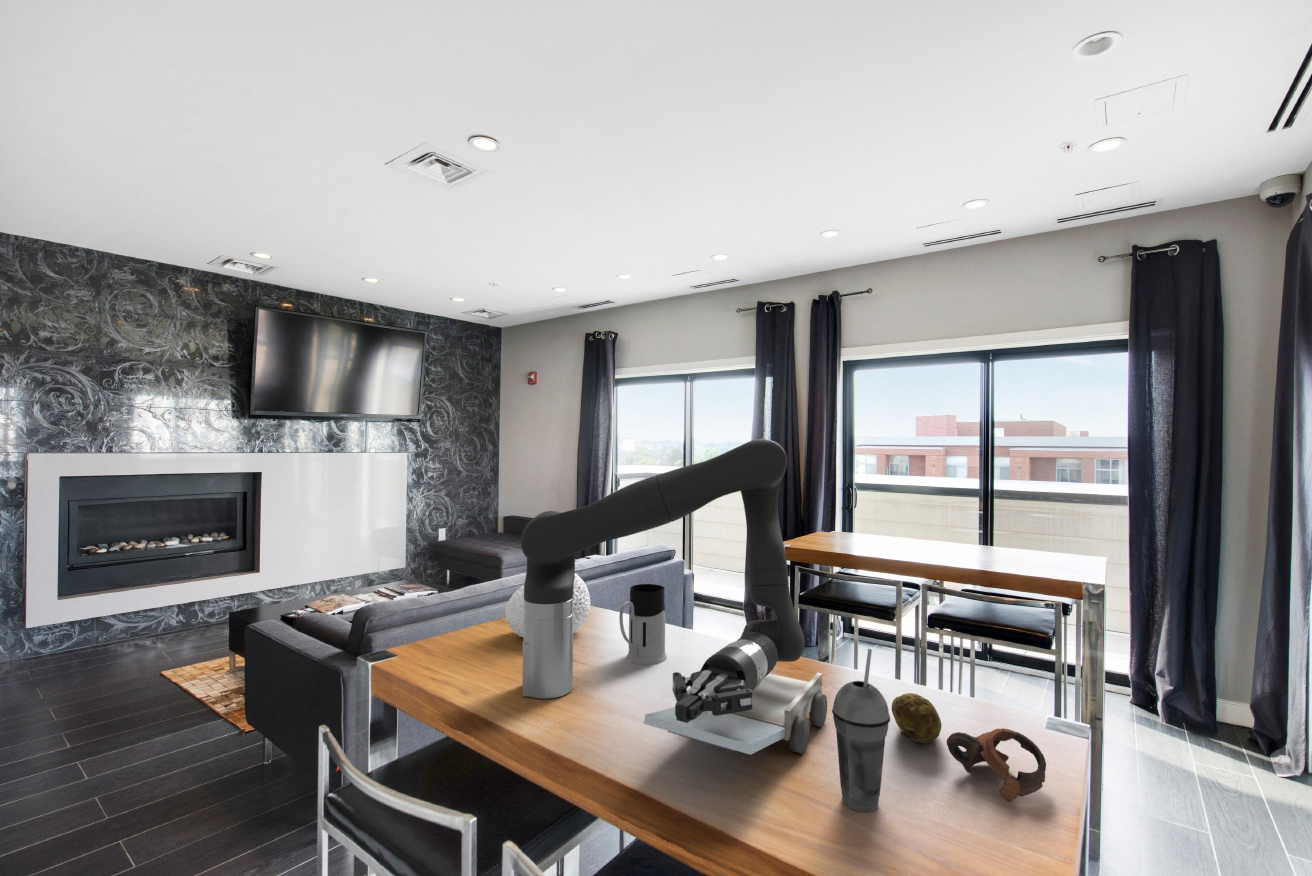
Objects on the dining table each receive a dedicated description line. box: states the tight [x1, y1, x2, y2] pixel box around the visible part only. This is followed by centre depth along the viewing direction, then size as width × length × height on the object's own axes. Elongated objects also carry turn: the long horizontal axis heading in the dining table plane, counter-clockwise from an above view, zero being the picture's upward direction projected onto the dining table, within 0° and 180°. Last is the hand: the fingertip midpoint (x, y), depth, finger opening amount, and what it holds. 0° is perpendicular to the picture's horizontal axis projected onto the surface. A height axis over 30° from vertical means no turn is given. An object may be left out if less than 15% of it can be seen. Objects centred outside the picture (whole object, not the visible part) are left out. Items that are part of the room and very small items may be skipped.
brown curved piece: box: [946, 727, 1047, 802], centre depth 85 cm, size 12×10×8 cm
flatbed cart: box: [721, 672, 828, 755], centre depth 102 cm, size 18×19×7 cm
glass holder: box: [618, 583, 668, 666], centre depth 130 cm, size 9×14×15 cm, turn 148°
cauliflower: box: [504, 573, 592, 639], centre depth 146 cm, size 20×18×16 cm
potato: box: [891, 692, 942, 744], centre depth 97 cm, size 8×13×8 cm, turn 140°
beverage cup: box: [831, 648, 891, 813], centre depth 80 cm, size 7×7×20 cm
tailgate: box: [643, 706, 786, 755], centre depth 88 cm, size 2×16×14 cm
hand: (681, 714), depth 79 cm, fingers closed
